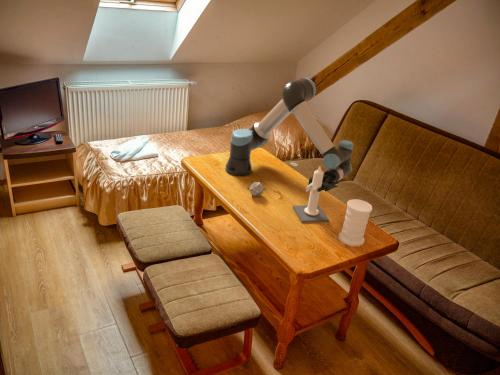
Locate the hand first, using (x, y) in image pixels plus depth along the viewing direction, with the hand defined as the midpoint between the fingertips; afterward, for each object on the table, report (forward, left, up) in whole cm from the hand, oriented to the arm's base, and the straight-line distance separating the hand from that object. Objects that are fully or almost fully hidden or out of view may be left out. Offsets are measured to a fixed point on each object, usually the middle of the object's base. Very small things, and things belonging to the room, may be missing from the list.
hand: (310, 190), depth 205 cm
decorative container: (+18, +16, -16) cm, 29 cm away
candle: (-3, +4, -14) cm, 15 cm away
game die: (-24, -19, -16) cm, 34 cm away
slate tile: (-4, +4, -16) cm, 17 cm away
